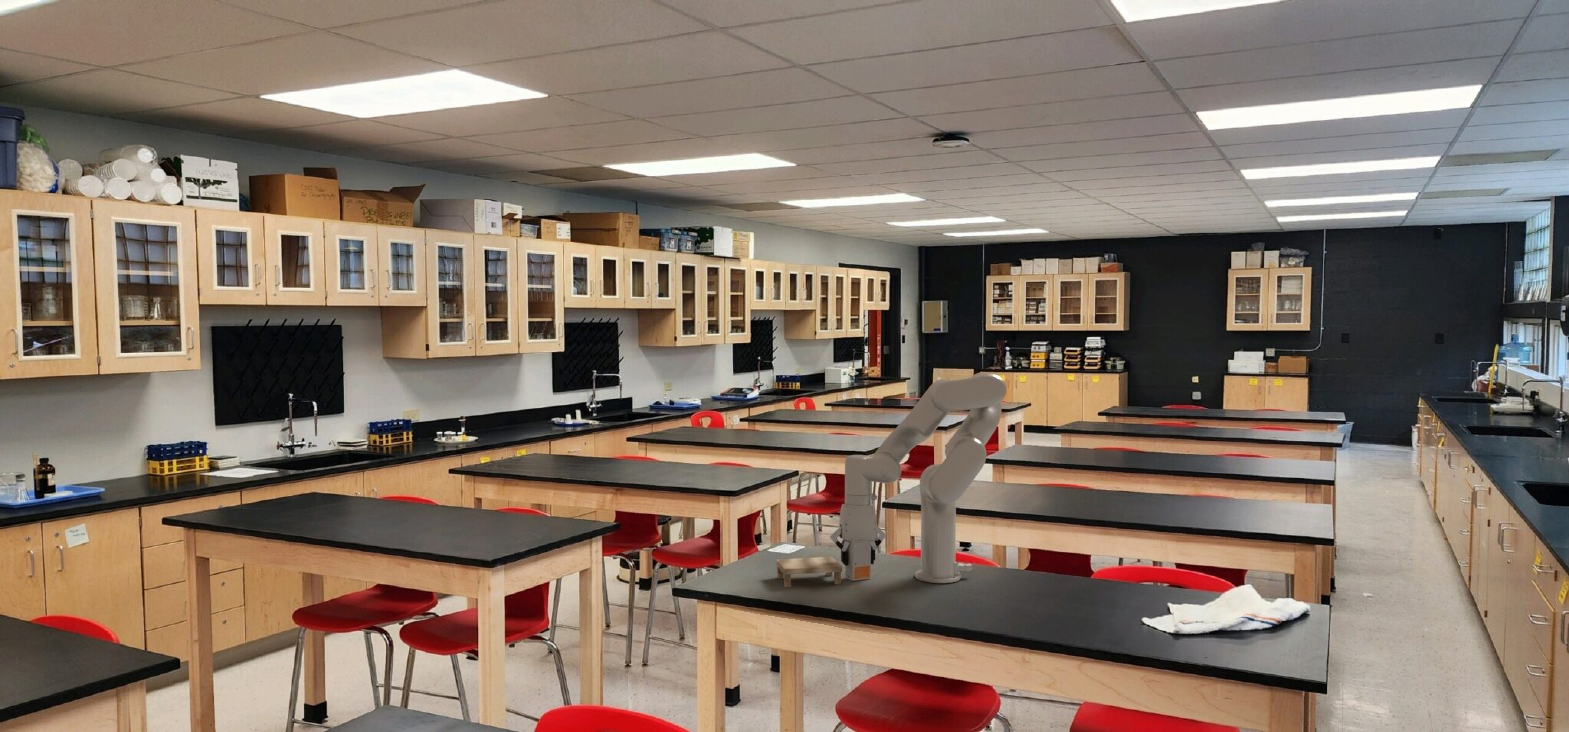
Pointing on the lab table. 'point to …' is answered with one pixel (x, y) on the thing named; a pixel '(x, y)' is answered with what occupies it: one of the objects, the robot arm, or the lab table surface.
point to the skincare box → (858, 560)
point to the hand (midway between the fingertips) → (858, 563)
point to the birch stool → (808, 568)
